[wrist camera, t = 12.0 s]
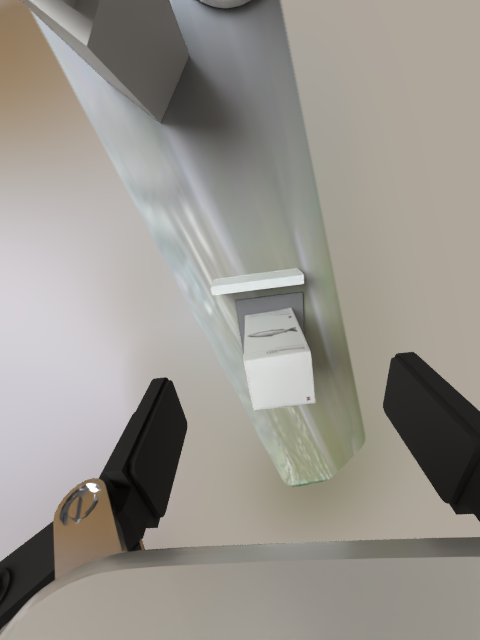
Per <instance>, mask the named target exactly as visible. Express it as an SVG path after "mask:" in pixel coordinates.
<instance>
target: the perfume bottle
mask: <svg viewBox="0 0 480 640" xmlns="http://www.w3.org/2000/svg"><path fill="white" fill-rule="evenodd" d="M21 1H22V2H23V3H24V4H25V5H26V6H27V7H28V8H29V9H30V10H31V11H32V12H33V13H34V14H35V15H37V16H38V17H39V18H40V19H41V20H42V21H43V22H44V23H45V24H46V25H47V26H48V27H49V28H50V29H51V30H52V31H54V32H55V33H56V34H57V35H58V36H59V37H60V38H61V39H62V40H63V41H64V42H65V43H66V44H67V45H68V46H69V47H71V48H72V49H73V50H74V51H75V52H76V53H77V54H78V55H79V56H80V57H81V58H82V59H83V60H84V61H85V62H86V63H88V64H89V65H90V66H91V67H92V68H93V69H94V70H95V71H96V72H97V73H98V74H99V75H100V76H101V77H102V78H103V79H105V80H106V81H107V82H108V83H110V84H111V85H112V86H113V87H115V88H116V89H117V90H119V91H120V92H121V93H122V94H124V95H125V96H126V97H127V98H129V99H130V100H131V101H133V102H134V103H135V104H136V105H138V106H139V107H140V108H141V109H143V110H144V111H145V112H147V113H148V114H149V115H150V116H152V117H153V118H154V119H156V120H157V121H158V122H159V123H161V121H162V119H163V117H164V114H165V112H166V110H167V107H168V105H169V103H170V100H171V98H172V96H173V93H174V91H175V89H176V86H177V84H178V81H179V79H180V77H181V74H182V72H183V70H184V67H185V65H186V63H187V60H188V58H189V53H188V51H187V48H186V45H185V43H184V40H183V37H182V34H181V32H180V29H179V26H178V23H177V21H176V18H175V15H174V13H173V10H172V7H171V4H170V2H169V0H21Z"/></svg>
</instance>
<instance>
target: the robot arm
mask: <svg viewBox="0 0 480 640" xmlns="http://www.w3.org/2000/svg"><path fill="white" fill-rule="evenodd" d="M200 1H201V2H203V3H205V4H208V5H210V6H213V7H219V8H231V7H238V6H240V5H243V4H245V3H247V2H249V1H251V0H200ZM383 408H384V411H385V413H386V415H387V417H388V418H389V419H390V421H391V423H392V424H393V426H394V427H395V429H396V430H397V432H398V433H399V435H400V436H401V438H402V440H403V441H404V442H405V444H406V446H407V447H408V449H409V450H410V452H411V453H412V455H413V456H414V458H415V459H416V461H417V462H418V464H419V465H420V467H421V468H422V470H423V472H424V473H425V475H426V476H427V478H428V479H429V481H430V482H431V484H432V485H433V487H434V488H435V490H436V492H437V493H438V495H439V496H440V498H441V499H442V500H443V501H444V502H445V503H449V504H450V506H451V507H452V508H453V510H454V512H455V513H456V514H474V515H475V516H476V517H477V519H478V520H479V521H480V411H479V410H477V409H476V408H475V407H474V406H473V405H472V404H471V403H470V402H469V401H468V400H466V399H465V398H464V397H463V396H462V395H461V394H460V393H459V392H458V391H456V390H455V389H454V388H453V387H452V386H451V385H450V384H449V383H448V382H447V381H445V380H444V379H443V378H442V377H441V376H440V375H439V374H438V373H437V372H435V371H434V370H433V369H432V368H431V367H430V366H429V365H428V364H427V363H426V362H424V361H423V360H422V359H421V358H420V357H419V356H418V355H417V354H415V353H414V352H408V353H398V354H396V355H395V357H394V358H392V359H391V363H390V369H389V374H388V379H387V385H386V391H385V397H384V402H383ZM186 431H187V420H186V418H185V415H184V412H183V409H182V407H181V404H180V401H179V398H178V396H177V393H176V390H175V387H174V385H173V382H172V381H171V380H170V381H169V380H168V378H157V379H153V380H152V381H151V383H150V385H149V387H148V389H147V391H146V393H145V395H144V397H143V399H142V401H141V403H140V405H139V406H138V408H137V410H136V412H135V413H134V414H133V415H132V417H131V419H130V421H129V422H128V424H127V426H126V428H125V430H124V432H123V434H122V436H121V438H120V440H119V441H118V443H117V445H116V447H115V449H114V451H113V453H112V455H111V456H110V458H109V460H108V462H107V464H106V466H105V468H104V470H103V472H102V473H101V475H100V477H99V479H97V478H92V479H89V480H86V481H84V482H82V483H80V484H78V485H77V486H76V487H75V488H73V489H72V490H71V491H70V492H69V493H68V494H67V495H66V496H65V497H64V498H63V500H62V501H61V503H60V504H59V506H58V508H57V510H56V512H55V515H54V521H53V522H52V523H50V524H49V525H48V526H46V527H45V528H44V529H42V530H41V531H40V532H39V533H37V534H36V535H35V536H34V537H32V538H31V539H29V540H28V541H27V542H25V543H24V544H23V545H22V546H20V547H19V548H18V549H16V550H15V551H14V552H13V553H11V554H10V555H9V556H7V557H6V558H5V559H3V560H2V561H1V562H0V640H480V537H472V538H470V537H469V538H423V539H390V540H359V541H330V542H303V543H276V544H251V545H228V546H203V547H184V548H167V549H152V550H145V548H144V545H143V541H142V538H143V536H144V533H145V530H146V528H158V524H159V520H160V517H163V516H164V515H165V512H166V509H167V505H168V501H169V497H170V493H171V489H172V485H173V482H174V478H175V474H176V470H177V466H178V462H179V458H180V455H181V451H182V446H183V443H184V439H185V435H186Z"/></svg>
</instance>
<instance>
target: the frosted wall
mask: <svg viewBox="0 0 480 640" xmlns="http://www.w3.org/2000/svg"><path fill="white" fill-rule="evenodd" d="M299 284H304V274H303V273H302V272H301V271H300V270H299V269H298V268H294V269H286V270H279V271H271V272H263V273H256V274H248V275H241V276H233V277H226V278H218V279H214V281H213V283H212V285H211V292H212V295H220V294H228V293H236V292H244V291H252V290H260V289H268V288H275V287H283V286H291V285H299Z"/></svg>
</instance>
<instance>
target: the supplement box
mask: <svg viewBox="0 0 480 640" xmlns="http://www.w3.org/2000/svg"><path fill="white" fill-rule="evenodd" d="M243 362H244V367H245V371H246V376H247V381H248V387H249V392H250V397H251V402H252V407H253V410H264V409H272V408H280V407H289V406H296V405H305V404H314V403H316V396H315V387H314V378H313V369H312V358H311V351H310V348H309V346H308V344H307V342H306V339H305V337H304V335H303V332H302V330H301V328H300V326H299V323H298V321H297V319H296V316H295V314H294V312H293V310H292V308H287V309H282V310H277V311H271V312H265V313H258V314H251V315H245V336H244V357H243Z"/></svg>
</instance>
